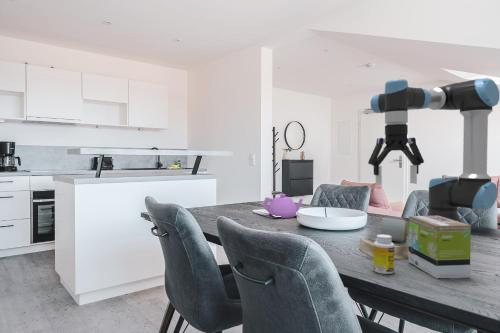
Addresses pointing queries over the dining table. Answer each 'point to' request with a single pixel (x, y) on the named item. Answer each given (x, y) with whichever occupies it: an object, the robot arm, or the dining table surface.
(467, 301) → the dining table surface
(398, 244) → the dock
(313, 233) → the dining table surface
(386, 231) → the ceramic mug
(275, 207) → the teapot
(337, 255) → the dining table surface
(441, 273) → the tea box
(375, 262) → the supplement bottle
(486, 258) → the dining table surface
